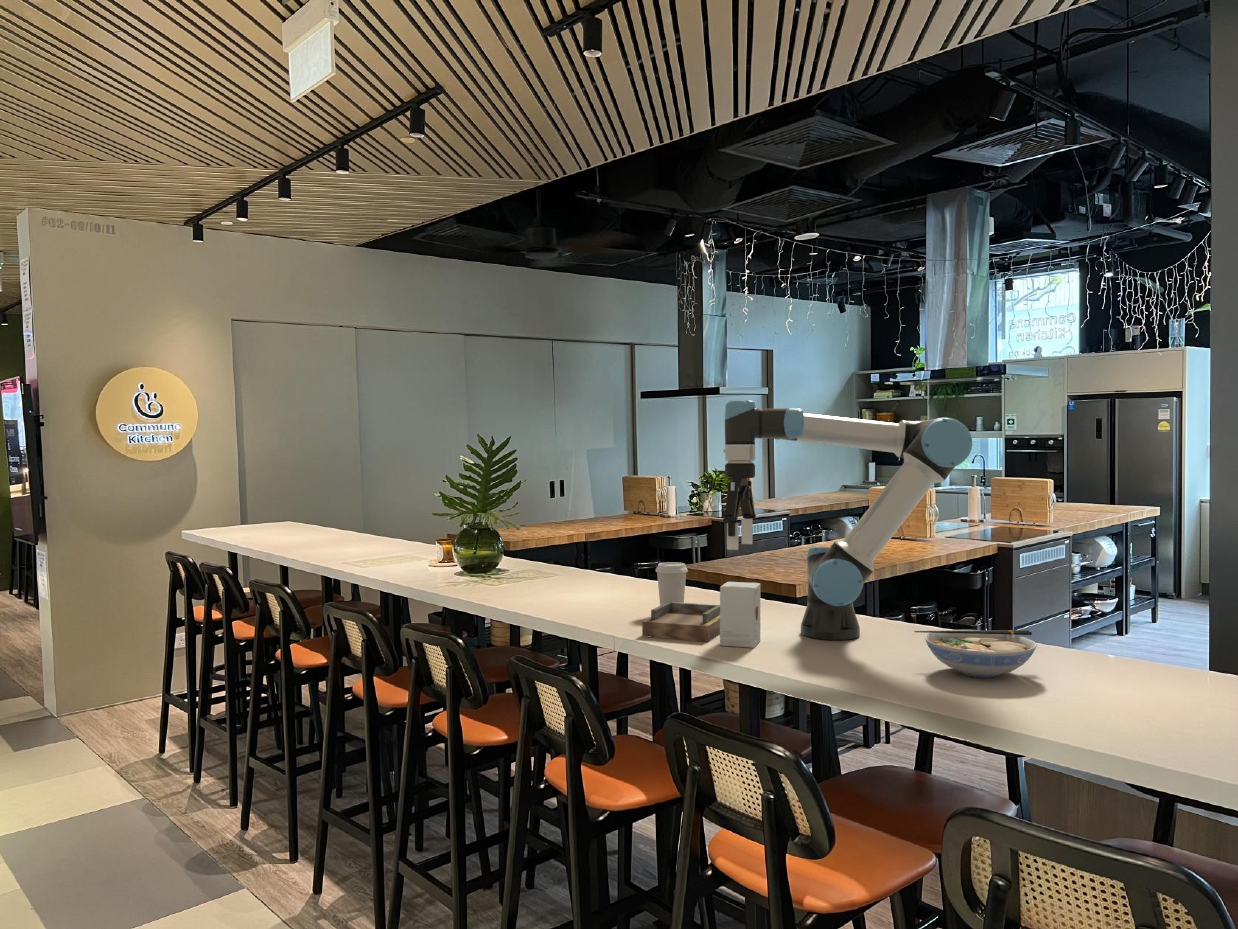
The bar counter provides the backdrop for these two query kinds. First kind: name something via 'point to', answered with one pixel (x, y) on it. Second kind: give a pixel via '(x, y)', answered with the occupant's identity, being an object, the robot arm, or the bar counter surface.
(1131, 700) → the bar counter surface
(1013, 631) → the ramen bowl
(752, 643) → the supplement box
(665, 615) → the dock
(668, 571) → the coffee cup
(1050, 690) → the bar counter surface
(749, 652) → the bar counter surface
